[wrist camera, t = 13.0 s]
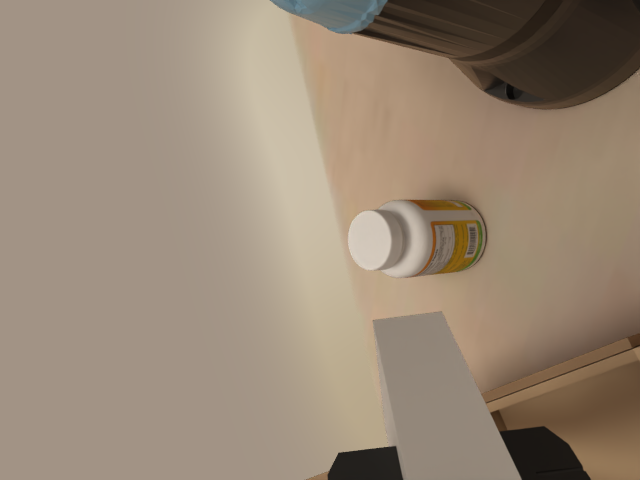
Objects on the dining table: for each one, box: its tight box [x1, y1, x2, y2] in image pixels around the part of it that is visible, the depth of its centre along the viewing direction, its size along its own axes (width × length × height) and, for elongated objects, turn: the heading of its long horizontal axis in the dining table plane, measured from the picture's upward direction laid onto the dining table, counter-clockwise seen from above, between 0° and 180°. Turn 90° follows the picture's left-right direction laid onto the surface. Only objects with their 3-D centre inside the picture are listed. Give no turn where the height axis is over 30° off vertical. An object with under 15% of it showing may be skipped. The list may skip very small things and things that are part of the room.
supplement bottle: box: [348, 200, 486, 278], centre depth 43 cm, size 5×5×10 cm
